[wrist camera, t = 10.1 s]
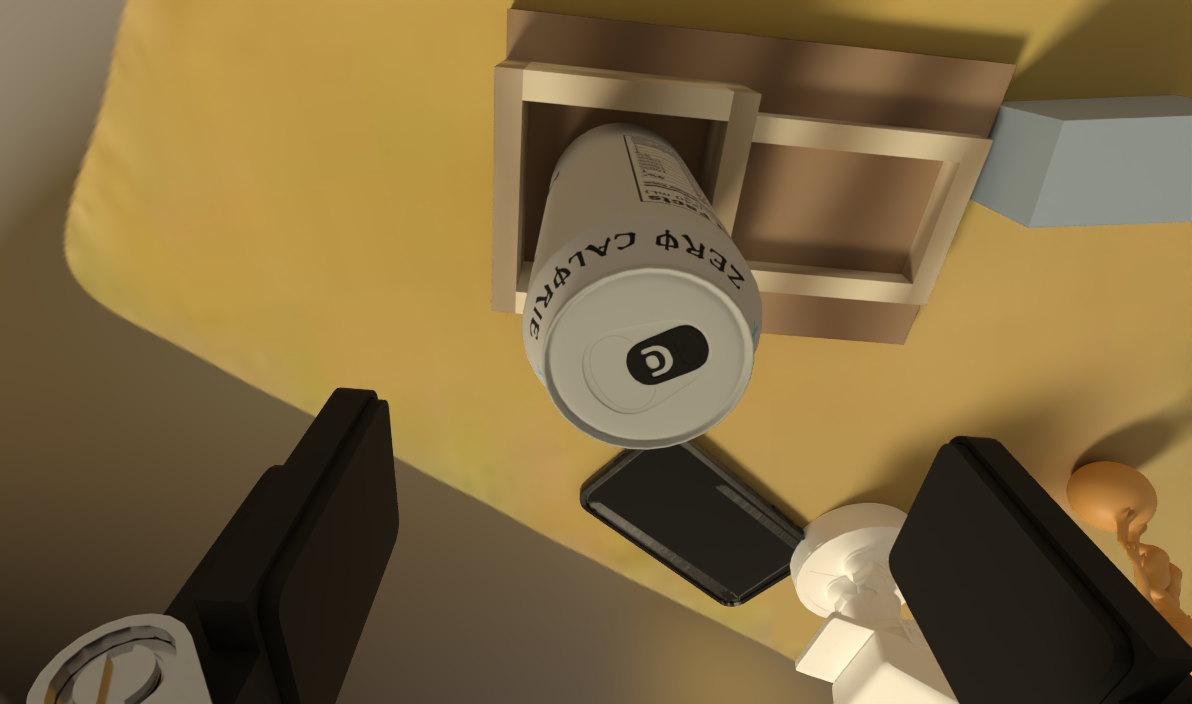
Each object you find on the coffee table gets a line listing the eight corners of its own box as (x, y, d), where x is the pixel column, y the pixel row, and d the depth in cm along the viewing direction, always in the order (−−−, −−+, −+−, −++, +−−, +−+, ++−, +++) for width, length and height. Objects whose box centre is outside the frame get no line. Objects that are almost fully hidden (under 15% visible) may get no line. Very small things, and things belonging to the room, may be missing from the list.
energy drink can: (526, 157, 26) (463, 309, 13) (655, 92, 25) (731, 189, 12) (586, 274, 29) (585, 498, 16) (705, 221, 27) (812, 417, 14)
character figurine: (875, 604, 42) (969, 798, 32) (751, 581, 41) (807, 775, 31) (944, 517, 38) (1077, 707, 28) (808, 487, 37) (895, 676, 26)
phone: (731, 611, 41) (571, 501, 36) (727, 597, 42) (572, 488, 37) (825, 552, 39) (667, 424, 33) (819, 539, 40) (665, 412, 34)
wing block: (1170, 94, 26) (1287, 111, 22) (1132, 187, 28) (1232, 220, 24) (984, 102, 26) (1064, 120, 22) (960, 193, 28) (1028, 228, 24)
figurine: (1146, 489, 37) (1363, 677, 27) (1053, 540, 39) (1220, 732, 29) (1087, 415, 34) (1304, 593, 24) (990, 474, 36) (1150, 661, 26)
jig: (1002, 62, 25) (1077, 73, 21) (895, 335, 32) (938, 381, 28) (510, 8, 24) (495, 8, 20) (503, 303, 30) (491, 347, 26)
